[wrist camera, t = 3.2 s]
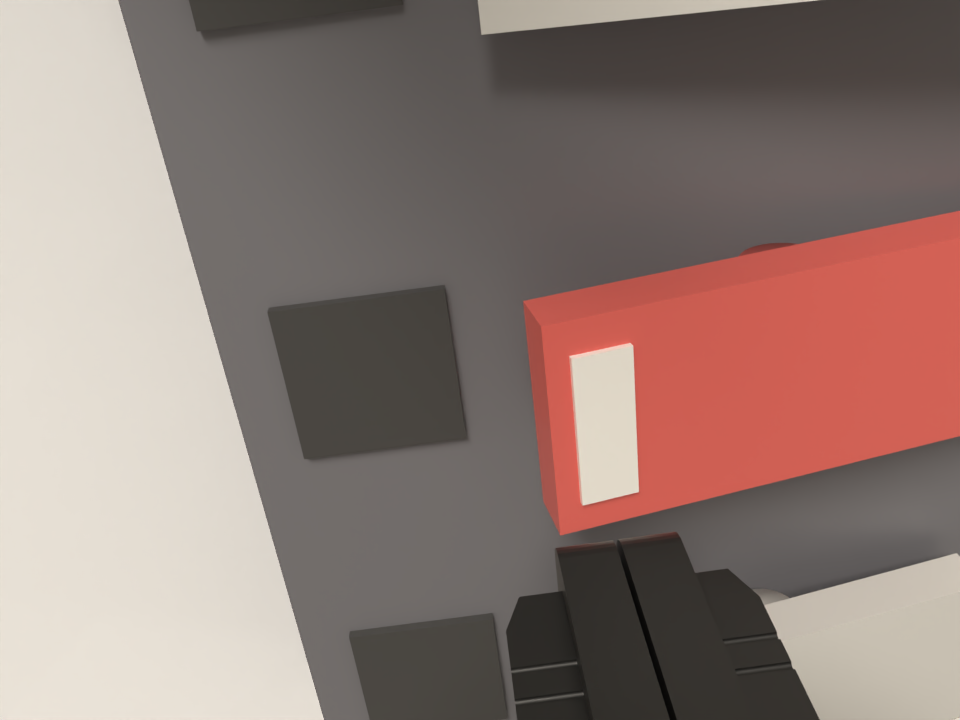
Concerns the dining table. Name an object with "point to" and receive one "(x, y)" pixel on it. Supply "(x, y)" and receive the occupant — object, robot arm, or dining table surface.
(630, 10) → the grey rocker near bottle
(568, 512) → the block
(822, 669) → the grey rocker far end
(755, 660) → the robot arm
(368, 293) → the power strip
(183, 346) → the dining table surface
